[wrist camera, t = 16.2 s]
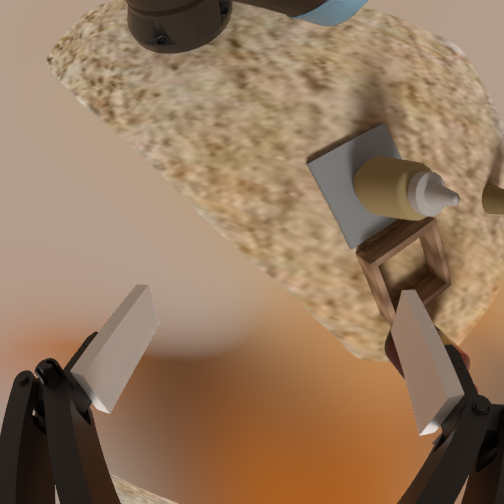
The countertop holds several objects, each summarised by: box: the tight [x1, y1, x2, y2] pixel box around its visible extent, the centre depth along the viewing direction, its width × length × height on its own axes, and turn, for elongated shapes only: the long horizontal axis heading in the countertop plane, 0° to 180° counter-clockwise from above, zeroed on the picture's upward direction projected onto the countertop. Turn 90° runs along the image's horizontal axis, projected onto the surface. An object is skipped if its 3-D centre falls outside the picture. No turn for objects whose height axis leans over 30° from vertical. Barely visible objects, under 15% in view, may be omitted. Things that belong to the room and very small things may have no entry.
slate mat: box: [307, 123, 401, 249], centre depth 38 cm, size 14×14×1 cm
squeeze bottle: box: [353, 156, 460, 220], centre depth 29 cm, size 8×8×18 cm
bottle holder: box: [356, 217, 451, 326], centre depth 40 cm, size 13×13×5 cm
